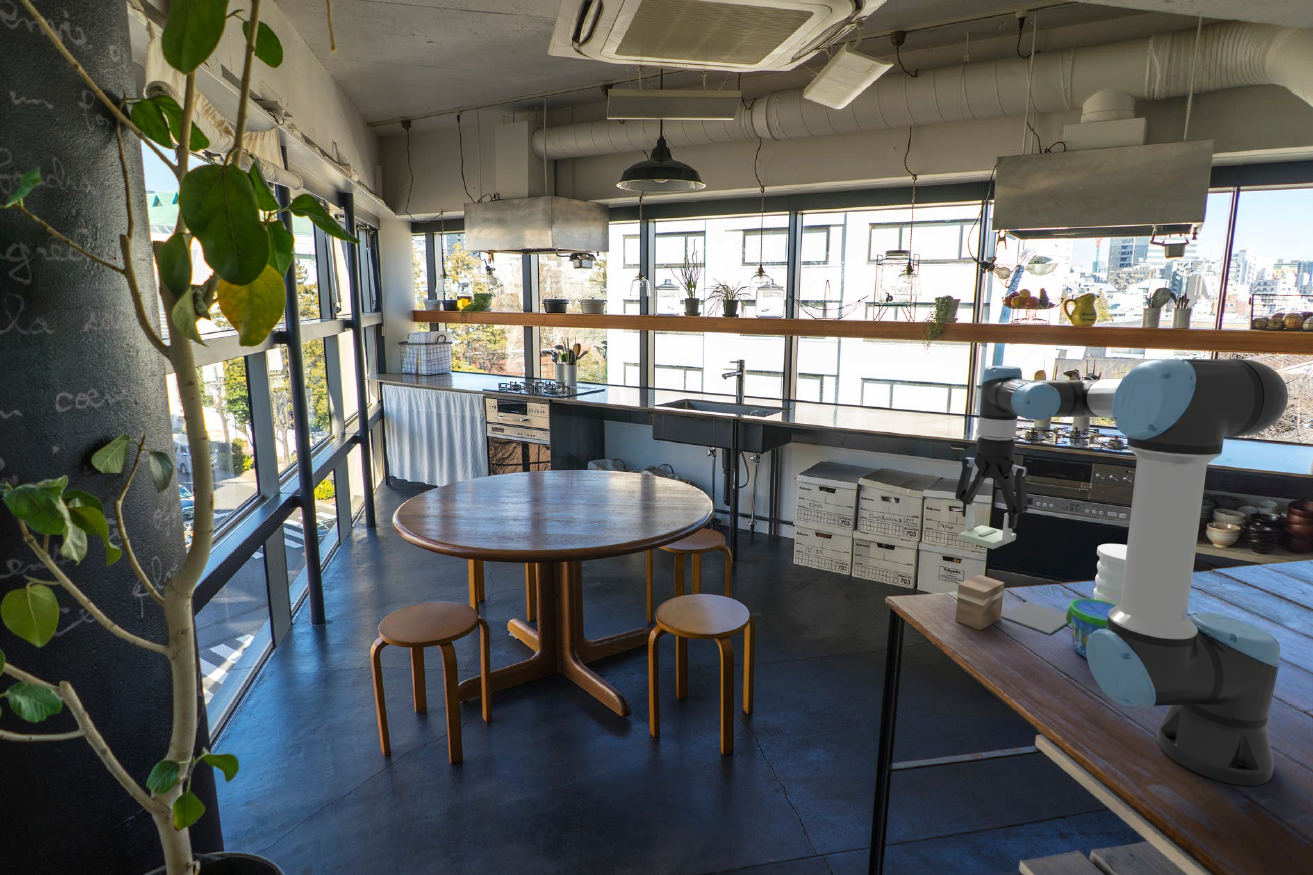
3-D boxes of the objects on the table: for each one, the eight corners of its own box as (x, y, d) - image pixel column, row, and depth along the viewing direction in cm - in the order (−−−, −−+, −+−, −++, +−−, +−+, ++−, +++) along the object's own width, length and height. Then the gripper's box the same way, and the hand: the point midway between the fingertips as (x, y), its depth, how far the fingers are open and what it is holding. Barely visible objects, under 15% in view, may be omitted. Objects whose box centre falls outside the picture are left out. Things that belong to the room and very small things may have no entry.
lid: (993, 549, 155) (993, 541, 155) (958, 539, 161) (958, 532, 161) (1015, 539, 161) (1016, 532, 161) (981, 530, 167) (981, 523, 167)
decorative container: (1076, 625, 163) (1086, 550, 160) (1098, 611, 170) (1108, 539, 166) (1133, 644, 154) (1145, 566, 150) (1154, 629, 161) (1166, 554, 157)
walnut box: (980, 630, 160) (984, 592, 159) (954, 620, 165) (958, 583, 163) (1000, 619, 166) (1004, 582, 164) (975, 609, 171) (979, 574, 169)
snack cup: (1143, 673, 143) (1150, 626, 141) (1090, 673, 143) (1097, 626, 141) (1096, 636, 158) (1102, 593, 156) (1048, 636, 158) (1053, 592, 156)
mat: (1049, 634, 158) (1049, 633, 158) (1000, 617, 167) (1000, 615, 167) (1075, 618, 166) (1075, 617, 166) (1027, 602, 175) (1027, 601, 175)
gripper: (1053, 442, 151) (1042, 545, 155) (960, 428, 167) (952, 522, 171) (1037, 446, 147) (1026, 552, 151) (943, 431, 163) (935, 528, 167)
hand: (987, 536), depth 161 cm, fingers closed on lid, 8 cm apart
